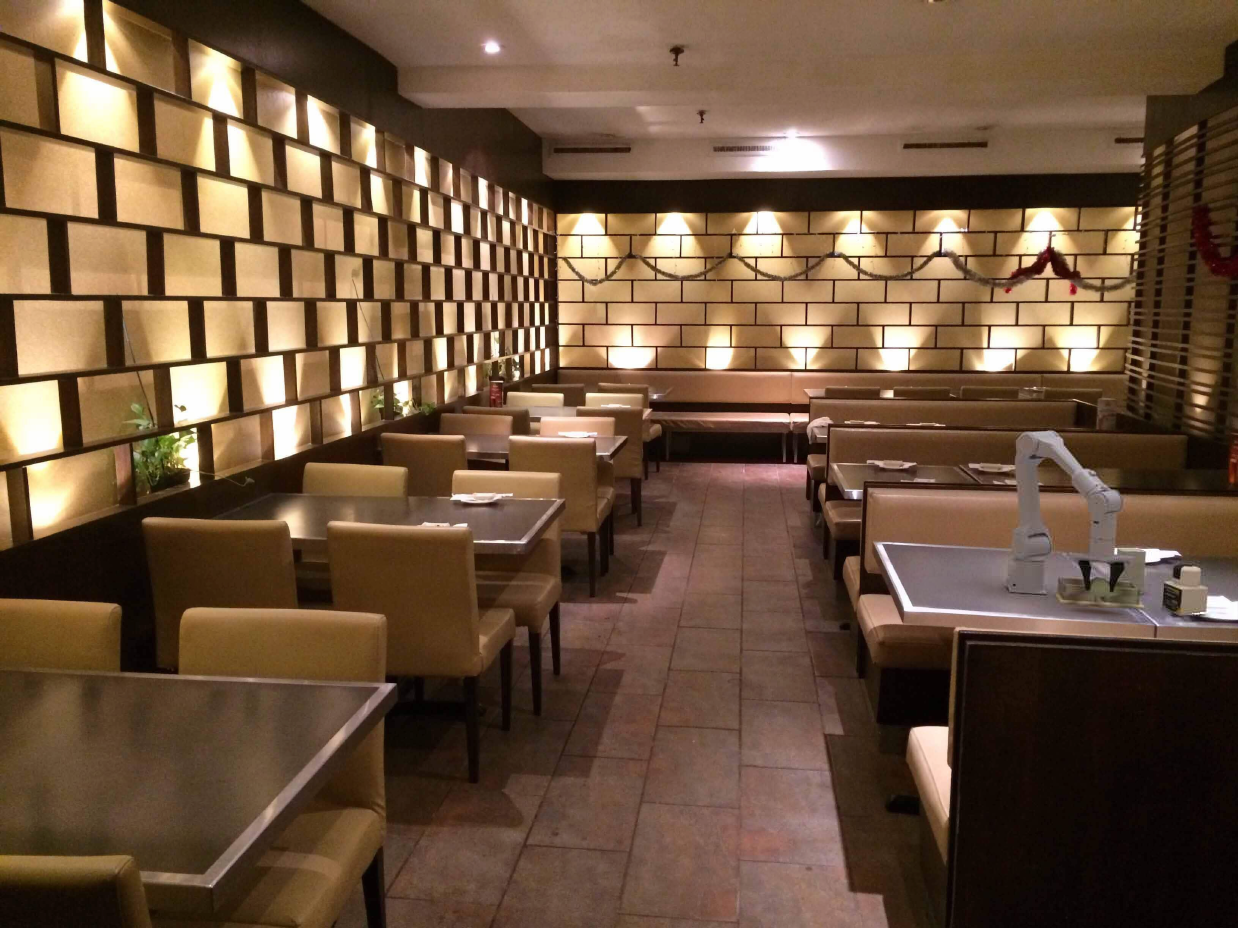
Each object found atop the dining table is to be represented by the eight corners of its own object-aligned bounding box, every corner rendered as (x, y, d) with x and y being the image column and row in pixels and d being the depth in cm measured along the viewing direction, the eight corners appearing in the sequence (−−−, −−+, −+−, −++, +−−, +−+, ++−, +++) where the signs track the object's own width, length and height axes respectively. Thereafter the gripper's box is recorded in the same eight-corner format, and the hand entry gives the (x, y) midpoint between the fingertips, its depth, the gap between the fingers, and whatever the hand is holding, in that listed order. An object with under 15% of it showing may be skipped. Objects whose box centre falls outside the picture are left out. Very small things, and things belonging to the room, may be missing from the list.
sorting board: (1060, 603, 254) (1061, 586, 253) (1053, 593, 264) (1054, 576, 264) (1145, 609, 249) (1146, 592, 248) (1134, 598, 259) (1135, 581, 259)
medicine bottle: (1161, 608, 250) (1164, 562, 249) (1187, 607, 251) (1191, 562, 249) (1179, 615, 243) (1183, 569, 242) (1206, 615, 244) (1210, 568, 242)
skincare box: (1136, 590, 267) (1139, 548, 266) (1143, 594, 263) (1146, 551, 262) (1113, 590, 268) (1116, 547, 266) (1120, 594, 264) (1123, 550, 262)
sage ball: (1089, 598, 245) (1091, 579, 245) (1085, 593, 250) (1087, 574, 249) (1111, 599, 244) (1113, 580, 243) (1107, 594, 249) (1108, 575, 248)
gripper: (1074, 539, 243) (1071, 592, 245) (1138, 542, 239) (1134, 596, 241) (1069, 534, 250) (1065, 585, 252) (1131, 537, 246) (1127, 589, 248)
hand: (1099, 590), depth 247 cm, fingers closed on sage ball, 5 cm apart
